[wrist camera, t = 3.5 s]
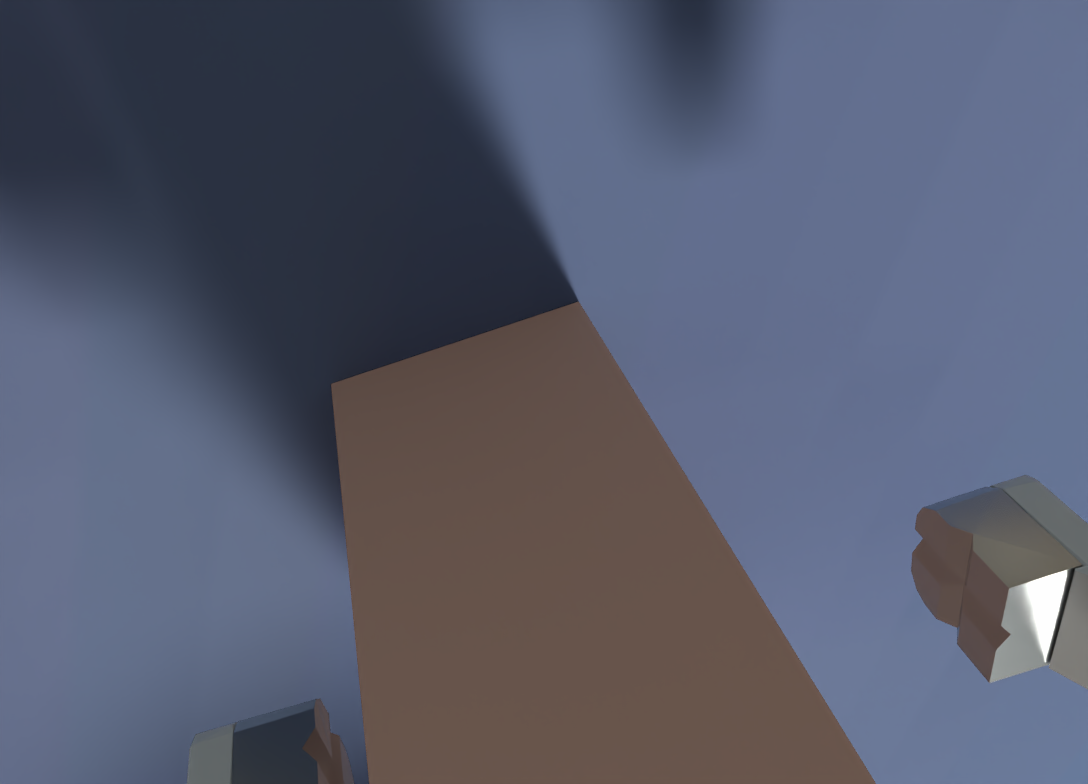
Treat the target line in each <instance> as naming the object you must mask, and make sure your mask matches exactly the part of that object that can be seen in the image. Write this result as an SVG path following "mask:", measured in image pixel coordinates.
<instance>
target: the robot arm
mask: <svg viewBox="0 0 1088 784" xmlns="http://www.w3.org/2000/svg"><path fill="white" fill-rule="evenodd" d="M915 530H916V531H917V532H918V533H919V534H920V535H921V536H922V537H923V539H922V541H921V542H920V543H919V545H918V546H917V547H916V549H915V550H914V551H913V553H912V567H911V571H912V575H913V578H914V582H915V585H916V589H917V591H918V593H919V595H920V596H921V598H922V600H923V602H924V604H925V605H926V606H927V607H928V609H929V610H930V611H931V613H932V614H933V615H934V616H935V618H936V619H938V620H941V621H943V622H945V623H948V624H950V625H952V626H954V627H957V645H958V646H959V647H960V648H961V649H962V651H963V652H964V653H965V654H966V655H967V657H968V658H969V659H970V660H971V661H972V663H973V664H974V665H975V666H976V667H977V669H978V670H979V671H980V672H981V673H982V675H983V676H984V677H985V678H986V679H987V681H988V682H989V683H991V682H994V681H998V680H1001V679H1004V678H1007V677H1010V676H1014V675H1017V674H1020V673H1023V672H1026V671H1030V670H1033V669H1036V668H1039V667H1043V666H1046V665H1049V664H1050V666H1049V668H1050V669H1052V670H1053V671H1055V672H1057V673H1059V674H1061V675H1063V676H1064V677H1066V678H1068V679H1070V680H1072V681H1074V682H1076V683H1077V684H1079V685H1081V686H1083V687H1085V688H1087V689H1088V524H1087V523H1086V522H1085V521H1084V520H1083V519H1082V518H1080V517H1079V516H1078V515H1077V514H1076V513H1075V512H1074V511H1072V510H1071V509H1070V508H1069V507H1068V506H1067V505H1065V504H1064V503H1063V502H1062V501H1061V500H1060V499H1059V498H1057V497H1056V496H1055V495H1054V494H1053V493H1052V492H1051V491H1049V490H1048V489H1047V488H1046V487H1045V486H1044V485H1042V484H1041V483H1040V482H1039V481H1038V480H1036V479H1035V478H1032V477H1030V476H1027V475H1024V476H1021V477H1017V478H1014V479H1011V480H1008V481H1005V482H1002V483H998V484H995V485H992V486H990V487H983V488H980V489H977V490H974V491H971V492H968V493H965V494H962V495H959V496H956V497H953V498H950V499H947V500H944V501H941V502H938V503H935V504H932V505H929V506H926V507H923V508H922V509H921V510H920V512H919V513H918V514H917V519H916V526H915ZM187 784H354V780H353V775H352V770H351V765H350V762H349V759H348V756H347V753H346V750H345V747H344V745H343V743H342V741H341V738H340V736H338V735H336V734H333V733H331V732H330V723H329V714H328V712H327V710H326V708H325V706H324V705H323V703H322V701H321V699H315V700H311V701H308V702H304V703H301V704H297V705H294V706H291V707H287V708H284V709H280V710H277V711H273V712H270V713H266V714H263V715H259V716H256V717H252V718H249V719H245V720H242V721H238V722H235V723H232V724H229V725H225V726H222V727H219V728H215V729H212V730H209V731H205V732H202V733H199V734H196V735H195V737H194V740H193V742H192V745H191V747H190V754H189V766H188V778H187Z"/></svg>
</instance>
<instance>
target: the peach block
mask: <svg viewBox="0 0 1088 784" xmlns="http://www.w3.org/2000/svg"><path fill="white" fill-rule="evenodd" d="M331 389H332V400H333V410H334V421H335V431H336V442H337V452H338V462H339V473H340V483H341V494H342V504H343V515H344V525H345V536H346V546H347V557H348V567H349V578H350V588H351V599H352V609H353V619H354V630H355V640H356V651H357V661H358V672H359V682H360V693H361V703H362V714H363V724H364V735H365V745H366V756H367V766H368V776H369V784H876V783H875V781H874V780H873V778H872V776H871V775H870V773H869V772H868V770H867V768H866V767H865V765H864V763H863V762H862V760H861V759H860V757H859V755H858V754H857V752H856V751H855V749H854V747H853V746H852V744H851V742H850V741H849V739H848V738H847V736H846V734H845V733H844V731H843V729H842V728H841V726H840V725H839V723H838V721H837V720H836V718H835V716H834V715H833V713H832V712H831V710H830V708H829V707H828V705H827V703H826V702H825V700H824V699H823V697H822V695H821V694H820V692H819V690H818V689H817V687H816V686H815V684H814V682H813V681H812V679H811V678H810V676H809V674H808V673H807V671H806V669H805V668H804V666H803V665H802V663H801V661H800V660H799V658H798V656H797V655H796V653H795V652H794V650H793V648H792V647H791V645H790V643H789V642H788V640H787V639H786V637H785V635H784V634H783V632H782V630H781V629H780V627H779V626H778V624H777V622H776V621H775V619H774V617H773V616H772V614H771V613H770V611H769V609H768V608H767V606H766V605H765V603H764V601H763V600H762V598H761V596H760V595H759V593H758V592H757V590H756V588H755V587H754V585H753V583H752V582H751V580H750V579H749V577H748V575H747V574H746V572H745V570H744V569H743V567H742V566H741V564H740V562H739V561H738V559H737V557H736V556H735V554H734V553H733V551H732V549H731V548H730V546H729V544H728V543H727V541H726V540H725V538H724V536H723V535H722V533H721V532H720V530H719V528H718V527H717V525H716V523H715V522H714V520H713V519H712V517H711V515H710V514H709V512H708V510H707V509H706V507H705V506H704V504H703V502H702V501H701V499H700V497H699V496H698V494H697V493H696V491H695V489H694V488H693V486H692V484H691V483H690V481H689V480H688V478H687V476H686V475H685V473H684V472H683V470H682V468H681V467H680V465H679V463H678V462H677V460H676V459H675V457H674V455H673V454H672V452H671V450H670V449H669V447H668V446H667V444H666V442H665V441H664V439H663V437H662V436H661V434H660V433H659V431H658V429H657V428H656V426H655V424H654V423H653V421H652V420H651V418H650V416H649V415H648V413H647V411H646V410H645V408H644V407H643V405H642V403H641V402H640V400H639V399H638V397H637V395H636V394H635V392H634V390H633V389H632V387H631V386H630V384H629V382H628V381H627V379H626V377H625V376H624V374H623V373H622V371H621V369H620V368H619V366H618V364H617V363H616V361H615V360H614V358H613V356H612V355H611V353H610V351H609V350H608V348H607V347H606V345H605V343H604V342H603V340H602V338H601V337H600V335H599V334H598V332H597V330H596V329H595V327H594V326H593V324H592V322H591V321H590V319H589V317H588V316H587V314H586V313H585V311H584V309H583V308H582V306H581V304H580V303H579V302H576V303H573V304H570V305H567V306H564V307H561V308H558V309H555V310H552V311H549V312H546V313H543V314H540V315H537V316H534V317H531V318H528V319H525V320H522V321H519V322H516V323H513V324H510V325H507V326H504V327H501V328H498V329H495V330H492V331H489V332H486V333H483V334H480V335H477V336H473V337H470V338H467V339H464V340H461V341H458V342H455V343H452V344H449V345H446V346H443V347H440V348H437V349H434V350H431V351H428V352H425V353H422V354H419V355H416V356H413V357H410V358H407V359H404V360H401V361H398V362H395V363H392V364H389V365H386V366H383V367H380V368H377V369H374V370H371V371H368V372H365V373H362V374H359V375H356V376H353V377H350V378H347V379H344V380H341V381H338V382H335V383H332V384H331Z"/></svg>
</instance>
